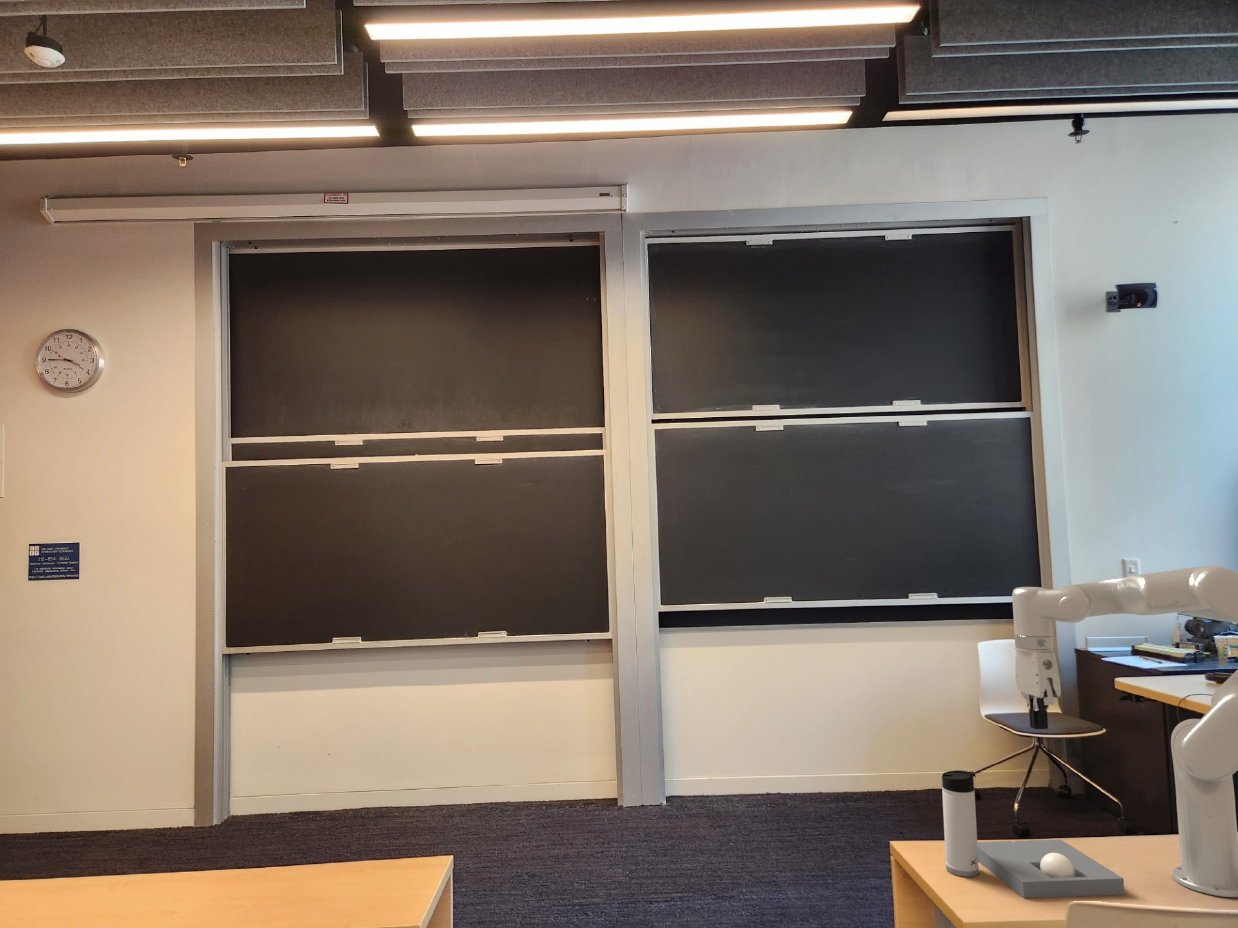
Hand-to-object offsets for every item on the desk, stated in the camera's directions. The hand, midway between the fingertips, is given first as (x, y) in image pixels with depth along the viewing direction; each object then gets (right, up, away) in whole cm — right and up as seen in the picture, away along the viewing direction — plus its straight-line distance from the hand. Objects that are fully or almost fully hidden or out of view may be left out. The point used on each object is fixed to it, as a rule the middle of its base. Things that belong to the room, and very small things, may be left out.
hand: (1038, 727), depth 174 cm
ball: (-5, -23, -16) cm, 28 cm away
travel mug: (-21, -27, -10) cm, 35 cm away
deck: (-5, -26, -12) cm, 29 cm away
